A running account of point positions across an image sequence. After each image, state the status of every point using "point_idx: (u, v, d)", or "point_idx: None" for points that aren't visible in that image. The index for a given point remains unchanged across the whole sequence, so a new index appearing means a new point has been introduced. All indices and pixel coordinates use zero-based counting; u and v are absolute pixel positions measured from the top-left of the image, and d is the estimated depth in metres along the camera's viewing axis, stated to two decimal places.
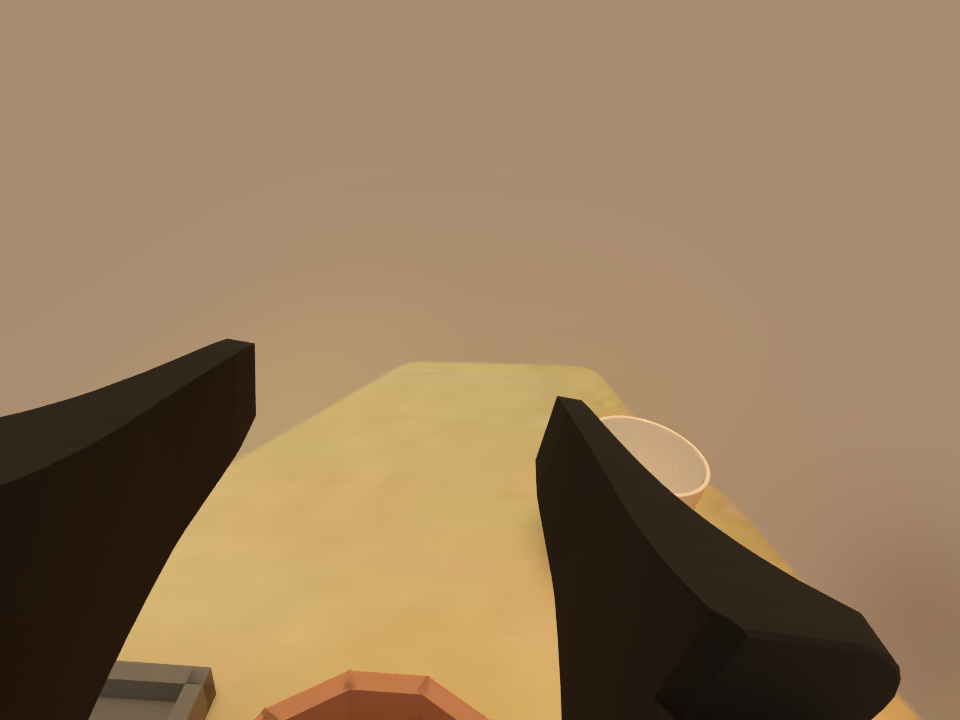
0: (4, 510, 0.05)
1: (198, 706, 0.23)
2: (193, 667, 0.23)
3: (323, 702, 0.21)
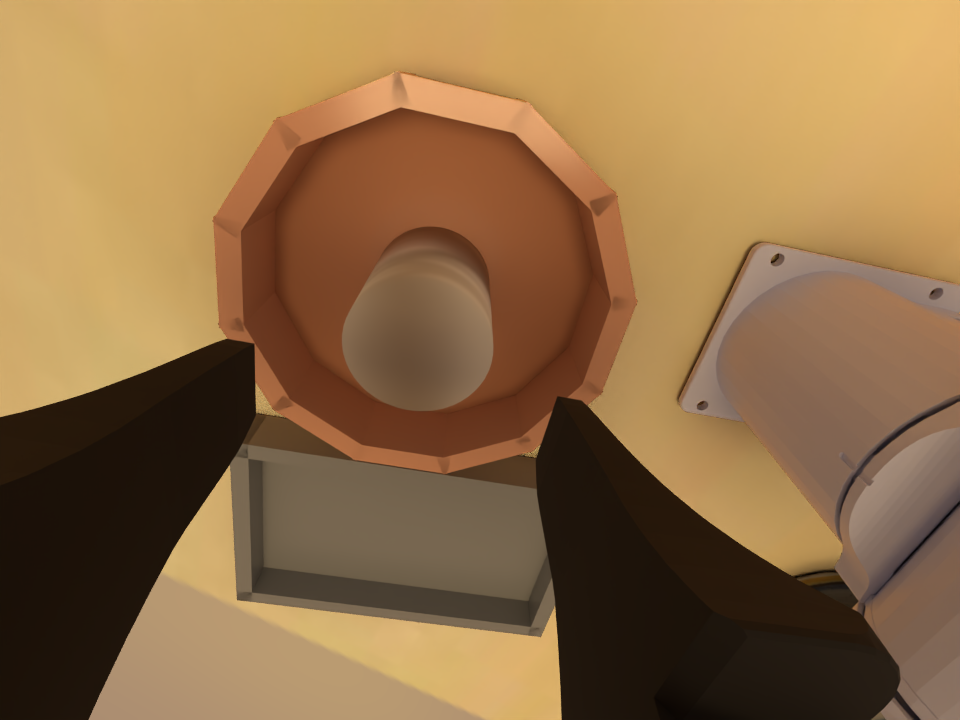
0: (4, 510, 0.05)
1: (267, 437, 0.22)
2: None
3: (261, 350, 0.17)
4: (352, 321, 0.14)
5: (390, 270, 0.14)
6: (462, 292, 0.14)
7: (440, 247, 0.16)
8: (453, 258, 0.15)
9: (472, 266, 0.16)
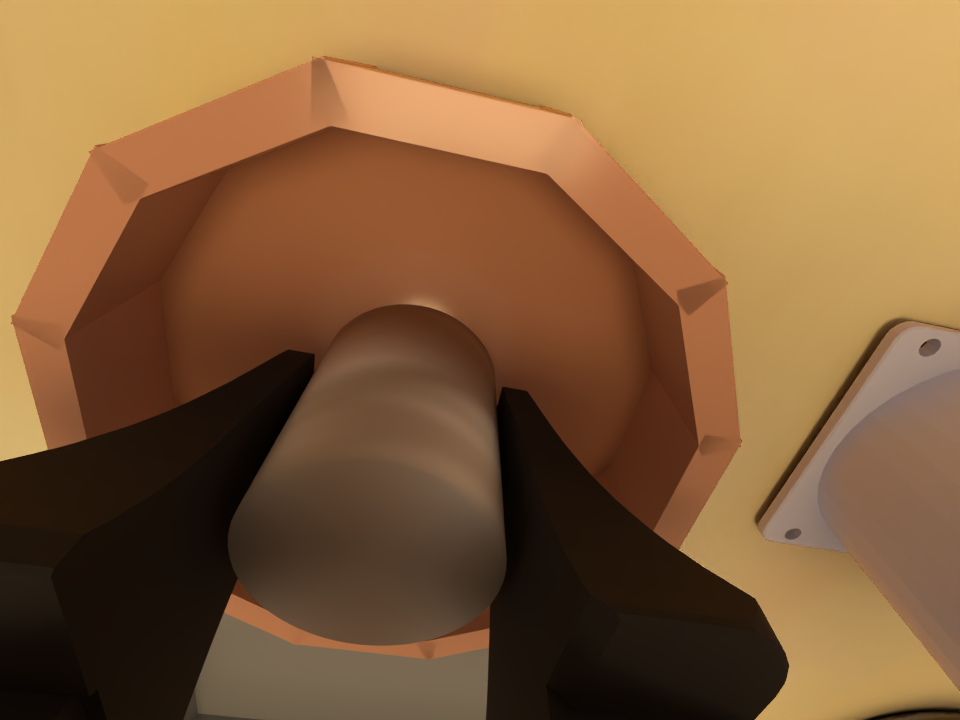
0: (138, 528, 0.05)
1: None
2: None
3: None
4: (243, 525, 0.07)
5: (317, 424, 0.08)
6: (447, 482, 0.07)
7: (415, 356, 0.10)
8: (435, 382, 0.09)
9: (469, 386, 0.10)
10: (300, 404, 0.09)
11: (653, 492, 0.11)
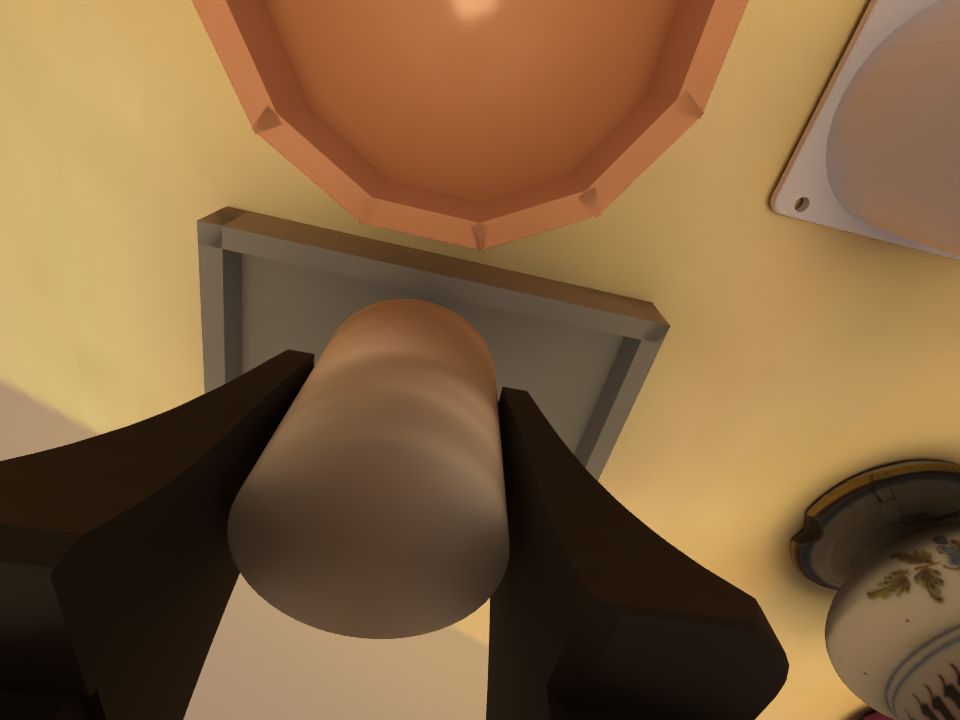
0: (138, 528, 0.05)
1: (247, 225, 0.17)
2: (199, 243, 0.17)
3: (237, 26, 0.12)
4: (243, 512, 0.07)
5: (318, 410, 0.08)
6: (449, 464, 0.07)
7: (415, 347, 0.09)
8: (436, 370, 0.09)
9: (469, 376, 0.10)
10: (300, 394, 0.09)
11: (689, 44, 0.13)
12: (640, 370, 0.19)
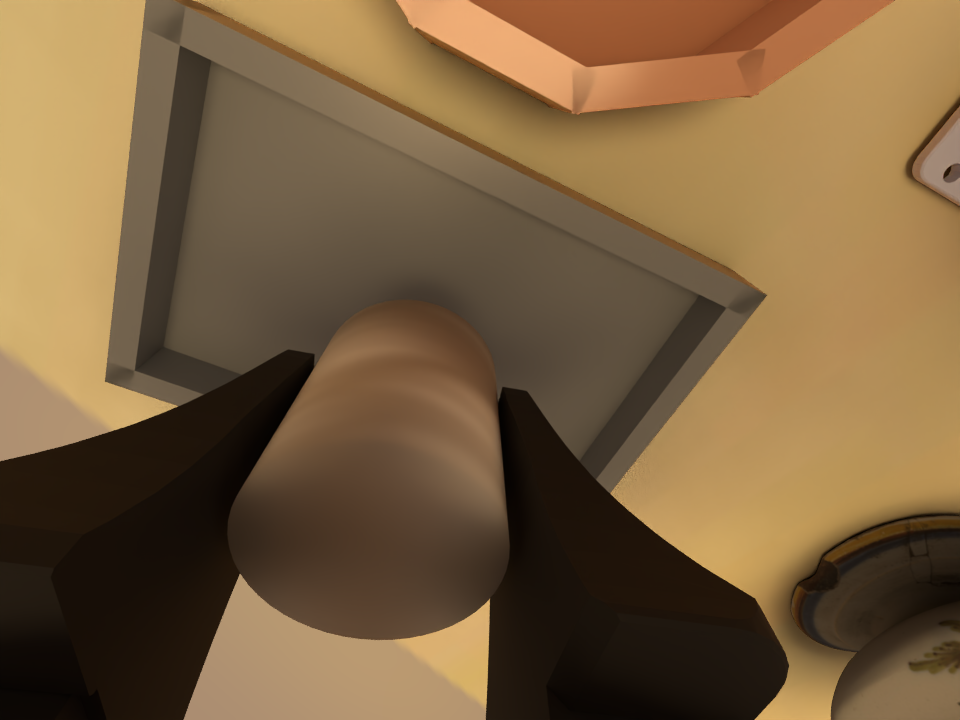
0: (138, 528, 0.05)
1: (225, 22, 0.12)
2: (144, 28, 0.11)
3: None
4: (243, 513, 0.07)
5: (317, 410, 0.08)
6: (449, 464, 0.07)
7: (415, 347, 0.10)
8: (436, 371, 0.09)
9: (469, 376, 0.10)
10: (300, 395, 0.09)
11: None
12: (712, 348, 0.15)
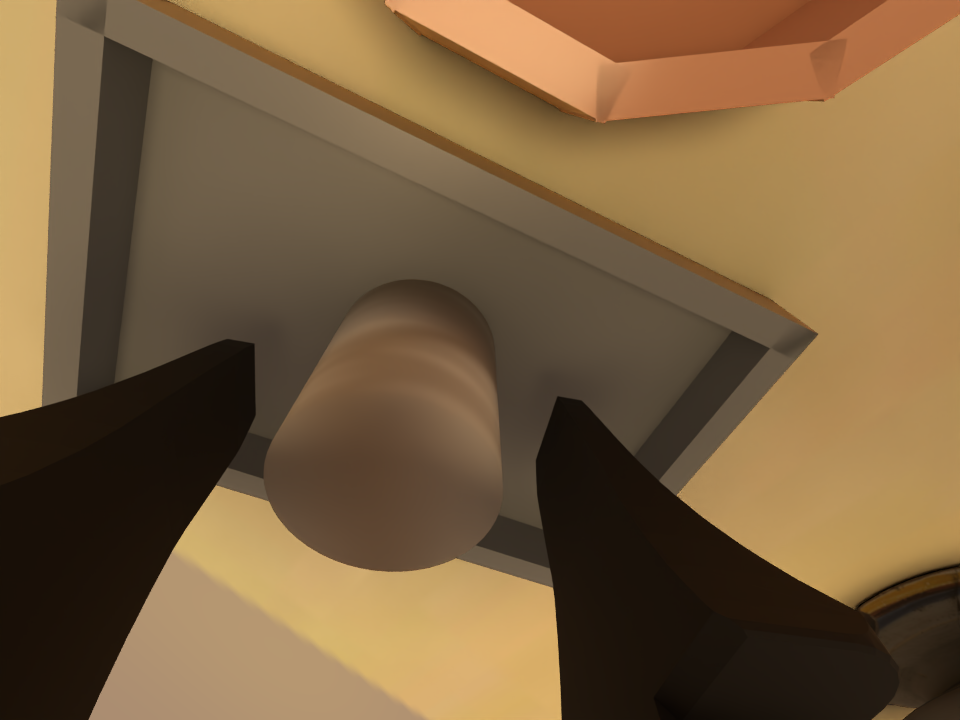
0: (4, 510, 0.05)
1: (163, 8, 0.09)
2: (58, 14, 0.09)
3: None
4: (277, 456, 0.09)
5: (339, 371, 0.09)
6: (451, 414, 0.08)
7: (422, 320, 0.11)
8: (440, 339, 0.10)
9: (470, 346, 0.11)
10: (322, 360, 0.10)
11: None
12: (750, 393, 0.13)
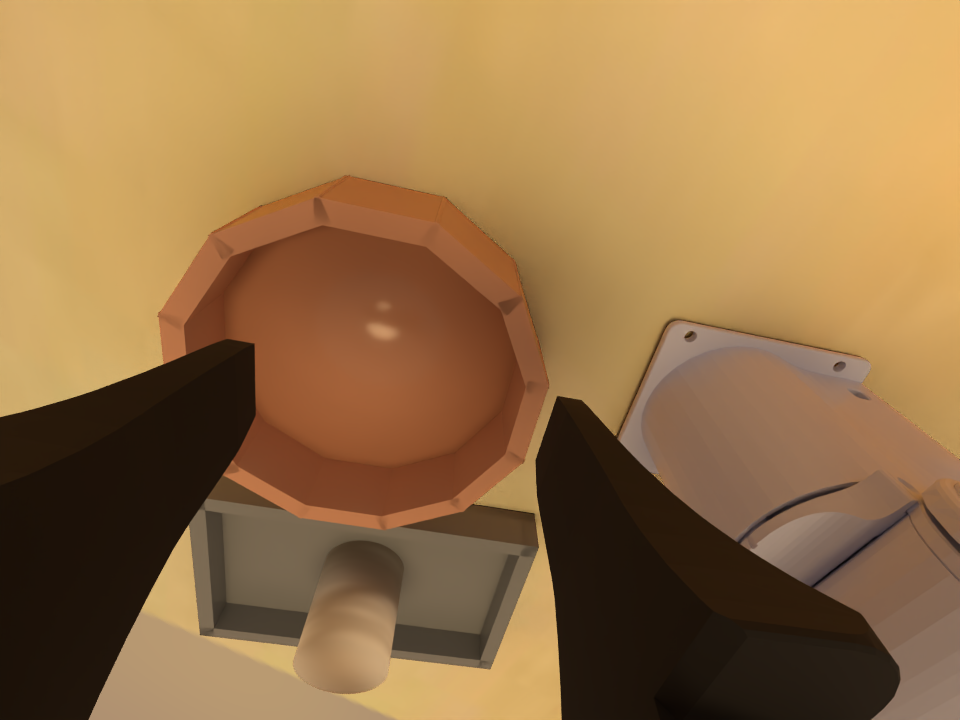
0: (4, 510, 0.05)
1: (223, 489, 0.24)
2: None
3: None
4: (297, 663, 0.23)
5: (314, 624, 0.23)
6: (354, 642, 0.22)
7: (350, 580, 0.25)
8: (356, 593, 0.24)
9: (373, 586, 0.25)
10: (311, 608, 0.24)
11: (512, 419, 0.19)
12: (521, 573, 0.26)
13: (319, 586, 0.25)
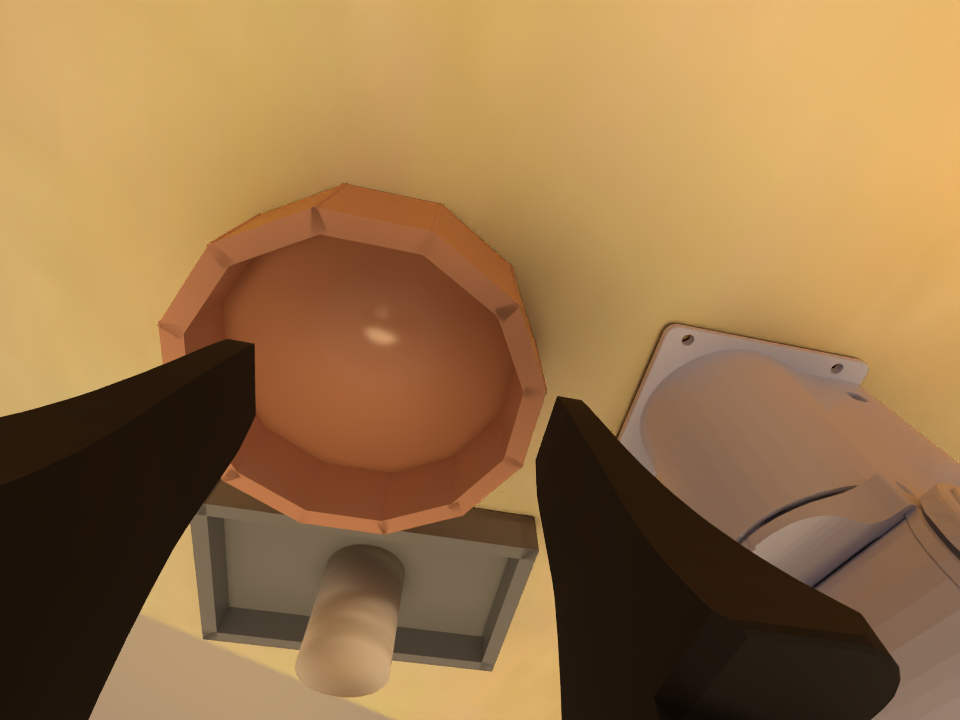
0: (3, 510, 0.05)
1: (224, 495, 0.24)
2: None
3: None
4: (299, 667, 0.23)
5: (315, 629, 0.23)
6: (355, 646, 0.22)
7: (351, 584, 0.25)
8: (358, 597, 0.24)
9: (374, 590, 0.25)
10: (312, 612, 0.24)
11: (510, 423, 0.20)
12: (522, 575, 0.26)
13: (321, 590, 0.25)
